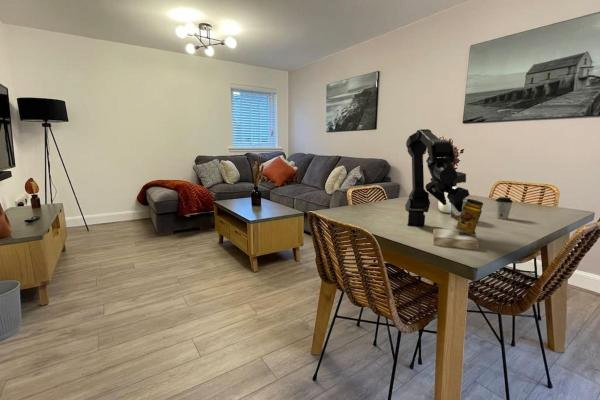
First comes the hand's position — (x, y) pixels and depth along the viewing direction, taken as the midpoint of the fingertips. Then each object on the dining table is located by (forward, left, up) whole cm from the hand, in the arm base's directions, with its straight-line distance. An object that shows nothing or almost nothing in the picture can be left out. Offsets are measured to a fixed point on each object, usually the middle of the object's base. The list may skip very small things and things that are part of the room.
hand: (452, 208), depth 115 cm
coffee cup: (+25, +39, -11) cm, 47 cm away
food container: (+7, +29, -11) cm, 31 cm away
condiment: (+4, -5, -8) cm, 10 cm away
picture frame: (+1, -9, -11) cm, 14 cm away
